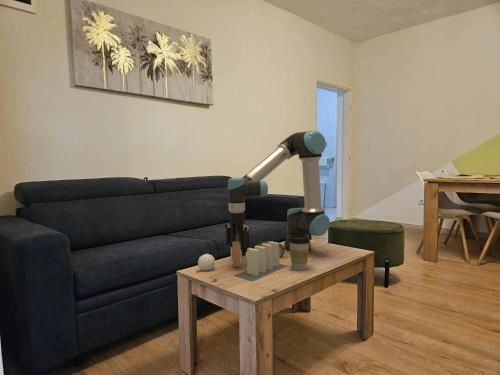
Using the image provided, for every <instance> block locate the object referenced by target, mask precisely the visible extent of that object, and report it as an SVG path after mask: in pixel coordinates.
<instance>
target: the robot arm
mask: <svg viewBox="0 0 500 375" xmlns="http://www.w3.org/2000/svg"><path fill="white" fill-rule="evenodd" d="M326 147H327V141H326V138H325V136H324V135H323V134H322V132H320V131H318V130H307V131H301V132H295V133H292V134H290V135H289V136H288V137H286V138H284V139H283V140H282V142H280V143H279V144H277V145H276V149H275V150H273V151H271V153H269V155H267V156H266V157H265V158H264V159H262V160H261V161H260V162H259V163H258V164H256V166H254V167H253V168H252V169H251V170H250V171H248V172H247V173H246V174H245V175H244V176H243V177H231V178H229V179H228V180H227V193H228V196H227V197H228V198H227V199H228V211H229V212H228V220H229V223H225V224H224V227H225V244H226V245H227V246H228V247H229V253H230V261H231V262H233V247H232V241H236V238H237V235H238V241H239V242H240V245H241V248H240V263H243V264H244V263H246V256H247V249H248V248H251V247H250V229H251V227H250V226H249V225H248V226H247V225H246V223H245V220H246V212H245V211H246V199H249V198H261V197H266V196H267V194H268V193H269V186H268V184H267V182H266V181H265V180H263V179H265V178H266V177H267V176H269V175H270V174H271V173H272V172H273V171H274V170H275V169H277V168H278V167H279V166H280V165H281V164H283V163H284V162H286V160H290V159H291V158H292V157H294V156H297V155H298V159H299V160H300V161H301V165H302V167H301V168H302V182H303V183H302V184H303V185H302V186H303V199H304V200H303V201H304V202H303V203H304V207H295V208H289V209H287V212H286V213H287V214H286V237H285V240H284V244H283V247H284V251H285V250H286V251H287V252H290V244H289V242H288V241H289V238H290V236H294V235H303V236H307V237H309V235H311V236H316V237H322V236H323V235H325V234H326V233H327V232H328V230H329V229H330V225H331V220H330V217H328V215H327V214H325V208H324V207H323V206H322V193H321V177H320V176H321V175H320V174H321V173H320V160H321V158H322V157H323V156H322V155H323V153H324V152H325V149H326ZM311 250H312V244H311V242H310V243H309V251H311Z"/></svg>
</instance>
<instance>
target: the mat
mask: <svg viewBox="0 0 500 375" xmlns="http://www.w3.org/2000/svg"><path fill="white" fill-rule="evenodd" d="M286 267H288V265H287V264H283V263H282V264H281V263H279V266H278V267H274V266H273V269H271V270H269V269H266V272H264V273H262V272H259V275H257V276H255V275H251V274H248V273H247V269H246V270H242V271H241V272H239V273H236V274H234V275H232V276H233V277H236V278H239V279H242V280H246V281H249V282H255V281H258V280H259V279H261V278H264V277H266V276H268V275H271V274H273V273H275V272H277V271H279V270H282V269H284V268H286Z"/></svg>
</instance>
